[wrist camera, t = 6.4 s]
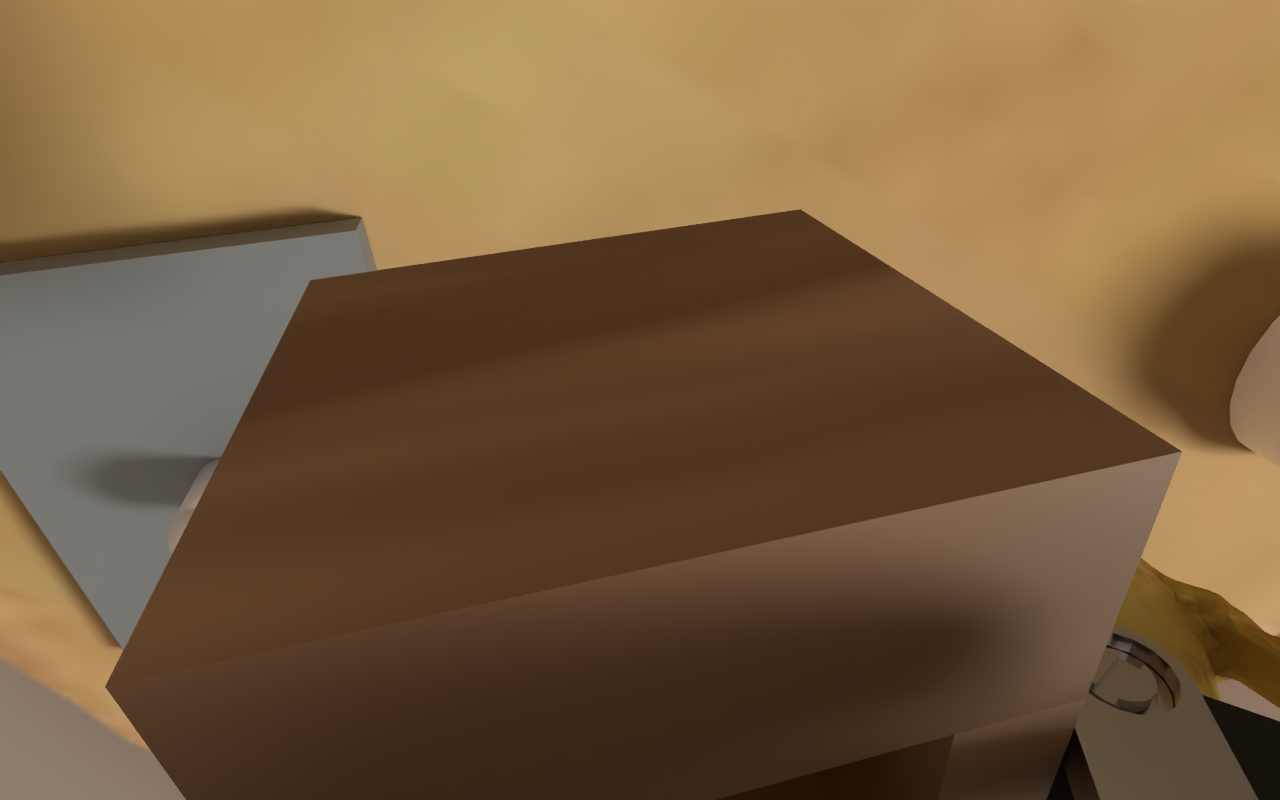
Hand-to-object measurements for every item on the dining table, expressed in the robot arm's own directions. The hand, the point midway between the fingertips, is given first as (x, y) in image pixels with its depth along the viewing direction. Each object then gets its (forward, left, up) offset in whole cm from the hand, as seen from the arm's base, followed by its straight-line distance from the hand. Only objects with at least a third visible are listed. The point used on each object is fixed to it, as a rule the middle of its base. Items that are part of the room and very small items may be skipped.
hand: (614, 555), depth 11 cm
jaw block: (0, 0, -1) cm, 1 cm away
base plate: (+8, -13, -18) cm, 24 cm away
